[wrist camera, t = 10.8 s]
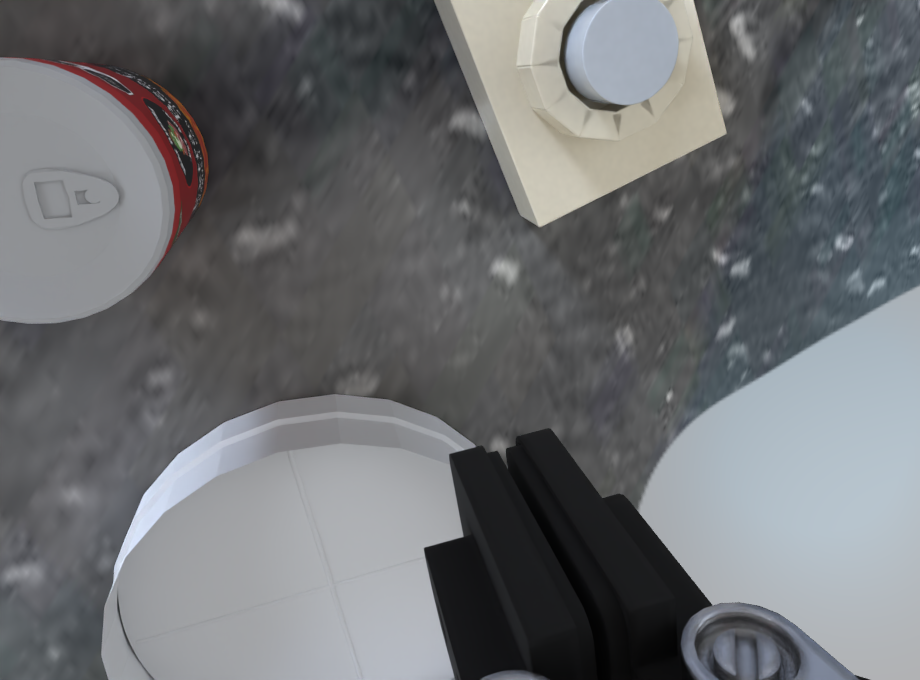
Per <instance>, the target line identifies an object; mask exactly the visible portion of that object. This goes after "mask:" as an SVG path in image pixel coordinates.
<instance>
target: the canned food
mask: <svg viewBox="0 0 920 680" xmlns="http://www.w3.org/2000/svg"><path fill="white" fill-rule="evenodd" d="M208 173H209V170H208V156H207V151H206V148H205V144H204V141H203V137H202V135H201V133H200V131H199V129H198V127H197V125H196V123H195V121H194V119H193V118H192V117H191V115H190V114H189V113H188V112H187V110H186V109H185V108H184V106H183V105H182V104H181V103H180V102H179V101H178V100H177V99H176V98H175V97H174V96H173V95H171V94H170V93H169V92H168V91H167V90H166V89H164V88H163V87H161V86H160V85H158V84H157V83H155V82H153V81H152V80H150V79H149V78H147V77H144V76H142V75H140V74H137V73H135V72H132V71H130V70H127V69H123V68H119V67H114V66H110V65H103V64H92V63H80V62H69V61H58V60H46V59H34V58H13V57H3V58H2V57H0V320H4V321H12V322H20V323H28V324H36V323H59V322H64V321H69V320H74V319H79V318H84V317H87V316H89V315H92V314H94V313H97V312H100V311H102V310H105V309H107V308H109V307H111V306H112V305H114V304H115V303H117V302H118V301H120V300H122V299H123V298H125V297H126V296H128V295H129V294H131V293H132V292H134V291H135V290H136V289H137V288H138V287H139V286H140V285H141V284H142V283H143V282H144V281H145V280H146V279H147V278H148V277H149V276H150V275H151V274H152V273H153V272H154V270H155V269H156V268H157V267H158V266H159V264H160V263H161V261H162V260H163V259H164V257H165V256H166V254H167V253H168V251H169V250H170V248H171V247H172V246H173V244H174V243H175V241H176V240H177V238H178V237H179V235H180V234H181V232H182V231H183V230H184V228H185V227H186V225H187V224H188V222H189V221H190V219H191V218H192V216H193V215H194V213H195V212H196V210H197V209H198V207H199V206H200V204H201V201H202V199H203V196H204V193H205V191H206V187H207V180H208Z"/></svg>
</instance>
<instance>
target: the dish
mask: <svg viewBox="0 0 920 680" xmlns="http://www.w3.org/2000/svg"><path fill="white" fill-rule="evenodd" d="M474 447H476V446H475V445H474V444H473V443H472V442H471V441H469V440H468V439H467V438H465V437H464V436H462V435H461V434H460V433H458V432H457V431H456V430H454V429H453V428H451V427H450V426H449V425H447V424H446V423H445V422H443V421H442V420H440V419H439V418H438V417H436V416H433V415H430V414H427V413H425V412H422V411H419V410H416V409H414V408H411V407H408V406H405V405H403V404H400V403H397V402H394V401H392V400H388V399H378V398H368V397H359V396H349V395H339V394H332V395H324V396H316V397H309V398H301V399H293V400H286V401H278V402H276V403H273V404H270V405H268V406H265V407H263V408H260V409H257V410H255V411H252V412H250V413H247V414H244V415H242V416H239V417H237V418H234V419H231V420H229V421H226V422H224V423H222V424H221V425H220V426H218V427H217V428H215V429H214V430H212V431H211V432H209V433H208V434H207V435H205V436H204V437H202V438H201V439H199V440H198V441H196V442H195V443H194V444H192V445H191V446H189V447H188V448H186V449H185V450H183V451H182V452H181V453H179V454H178V455H177V456H176V457H175V458H174V460H173V461H172V462H171V463H170V464H169V465H168V467H167V468H166V469H165V470H164V471H163V472H162V474H161V475H160V476H159V477H158V478H157V480H156V481H155V482H154V483H153V484H152V485H151V487H150V488H149V489H148V490H147V491H146V492H145V494H144V495H143V497H142V500H141V502H140V505H139V507H138V509H137V512H136V514H135V516H134V519H133V521H132V523H131V526H130V528H129V530H128V533H127V535H126V537H125V540H124V543H123V545H122V548H121V551H120V553H119V556H118V559H117V561H116V563H115V566H114V581H113V586H112V589H111V591H110V594H109V596H108V599H107V601H106V604H105V607H104V621H103V636H102V651H101V656H102V660H103V663H104V666H105V670H106V673H107V676H108V680H455V677H454V674H453V670H452V666H451V663H450V659H449V655H448V651H447V648H446V644H445V640H444V636H443V633H442V629H441V625H440V621H439V617H438V612H437V608H436V604H435V600H434V596H433V591H432V587H431V582H430V577H429V573H428V568H427V564H426V559H425V554H424V548H425V547H428V546H432V545H436V544H439V543H443V542H446V541H450V540H454V539H457V538H461V537H463V531H462V526H461V521H460V515H459V510H458V505H457V499H456V494H455V489H454V483H453V478H452V472H451V467H450V461H449V454H451V453H455V452H458V451H462V450H466V449H470V448H474Z"/></svg>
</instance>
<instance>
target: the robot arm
mask: <svg viewBox="0 0 920 680" xmlns="http://www.w3.org/2000/svg"><path fill="white" fill-rule="evenodd" d="M506 458H507V465H508V469H507V467H506V465H505V463H504V462H503V460H502V458H501V456H500V454H499V453H498V451H495V452H491V453H486V451H485V449H484V447H483V446H478V447H474V448H470V449H466V450H462V451H458V452H455V453H451V454H449V461H450V467H451V472H452V478H453V483H454V489H455V494H456V499H457V505H458V510H459V515H460V521H461V526H462V531H463V537H461V538H457V539H454V540H450V541H446V542H443V543H439V544H436V545H432V546H428V547H425V548H424V554H425V559H426V564H427V568H428V573H429V577H430V582H431V587H432V591H433V596H434V600H435V604H436V608H437V612H438V617H439V621H440V625H441V629H442V633H443V636H444V640H445V644H446V648H447V651H448V655H449V659H450V663H451V666H452V670H453V674H454V677H455V680H869V679H866V678H863V677H859V676H856V675H853V674H852V673H851V672H850V671H849V670H848V669H846V668H845V667H844V666H843V665H842V664H841V663H839V662H838V661H837V660H836V659H835V658H834V657H832V656H831V655H830V654H829V653H828V652H827V651H825V650H824V649H823V648H822V647H821V646H819V645H818V644H817V643H816V642H815V641H814V640H812V639H811V638H810V637H809V636H808V635H806V634H805V633H804V632H803V631H802V630H801V629H800V628H798V627H797V626H796V625H795V624H793V623H792V622H790V621H789V620H787V619H786V618H784V617H783V616H781V615H780V614H778V613H776V612H773V611H770V610H768V609H766V608H763V607H760V606H757V605H751V604H745V603H720V604H717V605H714V606H712V604H711V603H710V602H709V600H708V599H707V598H706V597H705V595H704V594H703V593H702V592H701V590H700V589H699V588H698V586H697V585H696V584H695V583H694V581H693V580H692V579H691V578H690V576H689V575H688V574H687V573H686V571H685V570H684V569H683V568H682V566H681V565H680V564H679V563H678V562H677V560H676V559H675V558H674V556H673V555H672V554H671V553H670V551H669V550H668V549H667V548H666V546H665V545H664V544H663V543H662V541H661V540H660V539H659V538H658V536H657V535H656V534H655V533H654V531H653V530H652V529H651V527H650V526H649V525H648V524H647V523H646V521H645V520H644V519H643V518H642V516H641V515H640V514H639V512H638V511H637V510H636V509H635V507H634V506H633V505H632V504H631V502H630V501H629V500H628V499H627V498H626V497H625V496H624V495H621V494H616V495H612V496H609V497H605V498H602V497H601V496H600V495H599V493H598V492H597V491H596V489H595V488H594V487H593V485H592V484H591V483H590V481H589V480H588V478H587V477H586V476H585V474H584V473H583V472H582V470H581V469H580V468H579V466H578V465H577V464H576V462H575V461H574V459H573V458H572V457H571V455H570V454H569V453H568V451H567V450H566V449H565V447H564V446H563V445H562V443H561V442H560V440H559V439H558V438H557V436H556V435H555V434H554V432H553V431H552V430H551V429H549V428H548V429H544V430H540V431H536V432H532V433H528V434H524V435H521V436H517V437H516V446H514V447H510V448H507V449H506Z"/></svg>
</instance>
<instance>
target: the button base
mask: <svg viewBox="0 0 920 680" xmlns="http://www.w3.org/2000/svg"><path fill="white" fill-rule="evenodd" d="M596 1H599V0H434V2H435V4H436V7H437V9H438V12H439V14H440V17H441V19H442V22H443V24H444V27H445V29H446V32H447V34H448V37H449V39H450V42H451V44H452V47H453V49H454V52H455V54H456V57H457V59H458V62H459V64H460V67H461V69H462V72H463V74H464V77H465V79H466V82H467V84H468V87H469V89H470V92H471V94H472V97H473V99H474V102H475V104H476V107H477V109H478V112H479V114H480V116H481V119H482V121H483V124H484V126H485V129H486V131H487V134H488V136H489V139H490V141H491V144H492V146H493V149H494V151H495V154H496V156H497V159H498V161H499V164H500V166H501V169H502V171H503V174H504V176H505V179H506V181H507V184H508V186H509V189H510V191H511V194H512V196H513V199H514V201H515V204H516V206H517V209H518V211H519V214H520V216H522V217H523V218H525V219H527V220H528V221H530V222H532V223H533V224H535V225H537V226H538V227H542V226H544V225H546V224H548V223H550V222H552V221H554V220H556V219H558V218H560V217H562V216H564V215H566V214H568V213H570V212H572V211H574V210H576V209H578V208H580V207H582V206H584V205H586V204H588V203H590V202H592V201H594V200H596V199H598V198H600V197H602V196H604V195H606V194H608V193H610V192H612V191H614V190H616V189H618V188H620V187H622V186H624V185H626V184H628V183H630V182H632V181H634V180H636V179H638V178H640V177H642V176H644V175H646V174H648V173H650V172H652V171H654V170H656V169H658V168H660V167H662V166H664V165H666V164H668V163H670V162H672V161H673V160H675V159H677V158H679V157H681V156H683V155H685V154H687V153H689V152H691V151H693V150H695V149H697V148H699V147H701V146H703V145H705V144H707V143H709V142H711V141H713V140H715V139H717V138H719V137H721V136H723V135H725V134H726V133H727V132H726V128H725V124H724V120H723V116H722V112H721V108H720V104H719V100H718V96H717V92H716V88H715V84H714V80H713V76H712V72H711V68H710V64H709V60H708V56H707V52H706V48H705V44H704V40H703V36H702V32H701V28H700V24H699V20H698V16H697V12H696V8H695V4H694V0H659V1H660V2H661V3H662V4H663V5H664V6H665V7H666V8H667V9H668V11H669V12H670V14H671V15H672V17H673V19H674V22H675V25H676V28H677V32H678V40H679V47H678V56H677V60H676V64H675V67H674V70H673V72H672V74H671V76H670V78H669V79H668V81H667V82H666V84H665V85H664V86H663V87H662V88H661V89H660V90H659V91H658V92H657V93H656V94H655V95H654V96H652V97H651V98H649V99H647V100H646V101H643V102H641V103H638V104H634V105H615V104H603V103H597V102H593V101H591V100H589V99H587V98H585V97H584V96H582V95H581V94H580V93H579V92H578V91H577V90H576V89H575V88H574V86H573V85H572V83H571V82H570V80H569V78H568V75H567V73H566V69H565V64H564V45H565V40H566V37H567V34H568V31H569V29H570V27H571V25H572V23H573V21H574V20H575V18H576V17H577V16H578V15H579V14H580V13H581V12H582V11H583V10H584V9H585V8H586V7H587V6H589V5H590V4H592V3H594V2H596Z"/></svg>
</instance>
